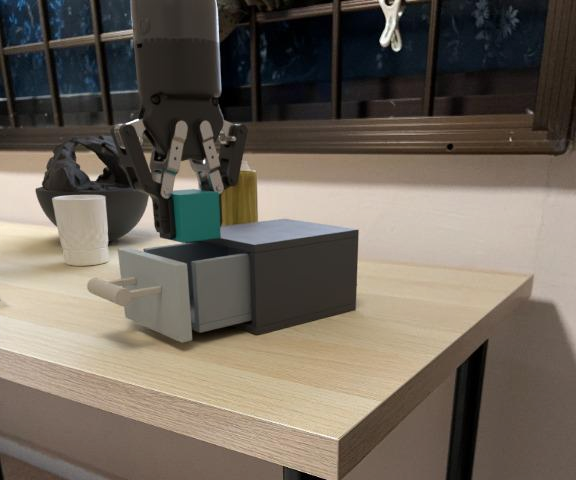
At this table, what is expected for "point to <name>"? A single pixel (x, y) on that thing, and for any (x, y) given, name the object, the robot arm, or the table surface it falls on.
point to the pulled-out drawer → (181, 287)
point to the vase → (241, 200)
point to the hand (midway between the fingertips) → (189, 234)
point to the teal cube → (196, 215)
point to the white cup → (82, 228)
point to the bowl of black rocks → (93, 184)
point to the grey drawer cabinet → (295, 270)
